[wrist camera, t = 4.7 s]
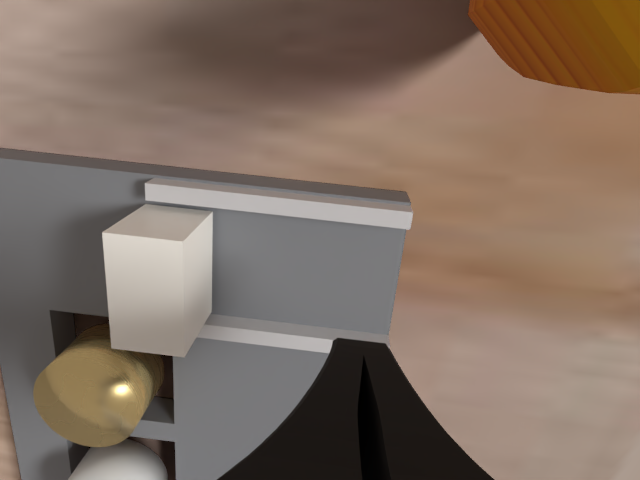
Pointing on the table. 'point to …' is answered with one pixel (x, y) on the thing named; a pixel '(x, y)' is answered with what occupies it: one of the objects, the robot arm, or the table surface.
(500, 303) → the table surface
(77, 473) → the white button
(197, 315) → the white block
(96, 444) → the brass button
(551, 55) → the carrot
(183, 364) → the control panel
